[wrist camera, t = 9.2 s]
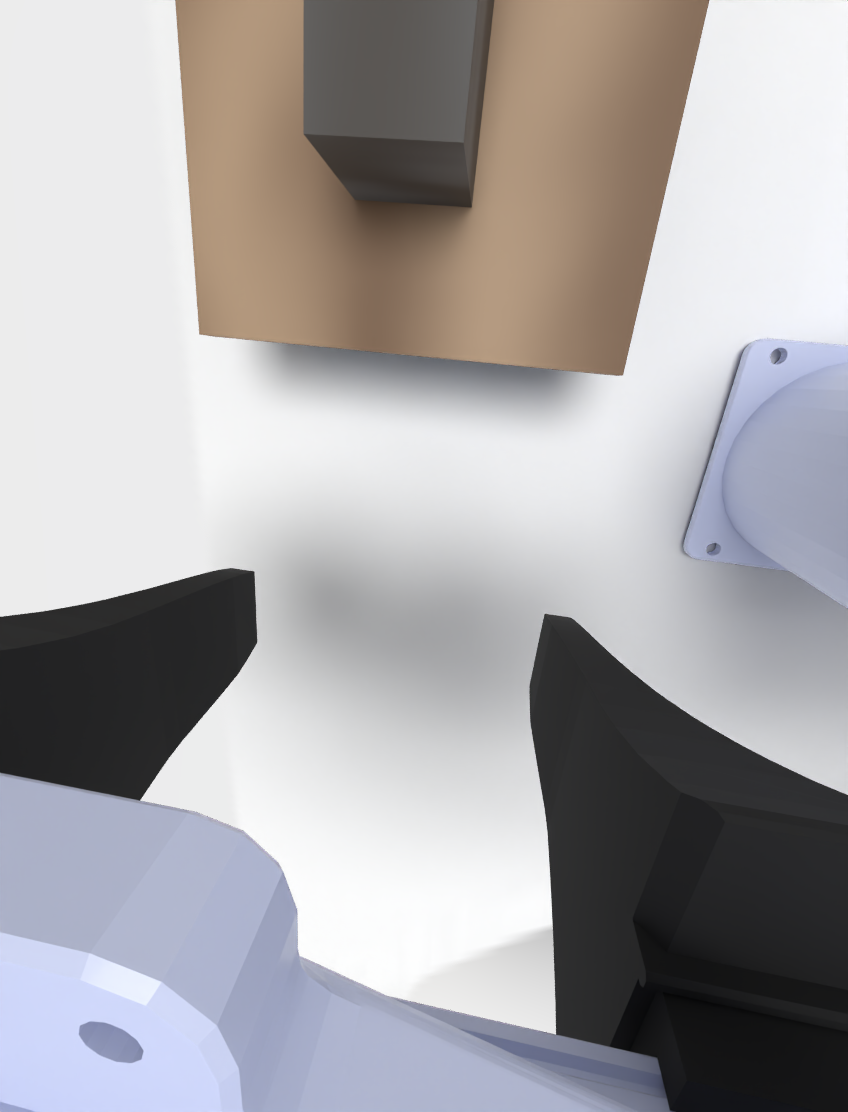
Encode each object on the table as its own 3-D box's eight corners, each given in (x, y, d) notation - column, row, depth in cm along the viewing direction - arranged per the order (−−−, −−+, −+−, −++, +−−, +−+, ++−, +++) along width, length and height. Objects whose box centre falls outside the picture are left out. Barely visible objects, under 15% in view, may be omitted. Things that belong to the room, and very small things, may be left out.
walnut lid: (767, -297, 9) (984, -832, 5) (615, 375, 13) (667, 374, 9) (176, -277, 10) (-30, -701, 6) (214, 336, 14) (108, 320, 11)
